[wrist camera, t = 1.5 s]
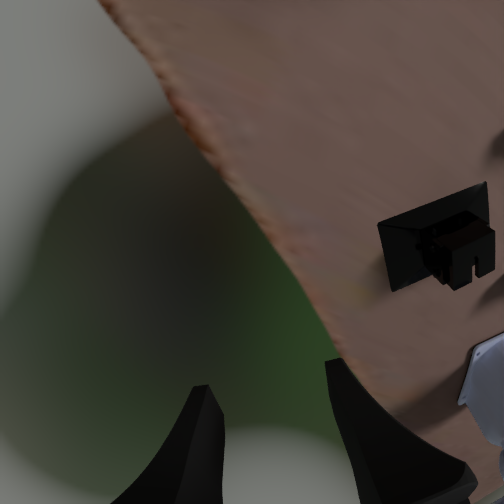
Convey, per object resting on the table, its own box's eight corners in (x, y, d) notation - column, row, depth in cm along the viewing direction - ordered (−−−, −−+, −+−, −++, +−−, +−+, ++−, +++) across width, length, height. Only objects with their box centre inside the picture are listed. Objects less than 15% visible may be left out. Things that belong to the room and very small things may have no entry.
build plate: (371, 303, 23) (394, 343, 18) (349, 213, 20) (376, 243, 15) (499, 245, 21) (533, 271, 17) (494, 159, 18) (536, 175, 14)
